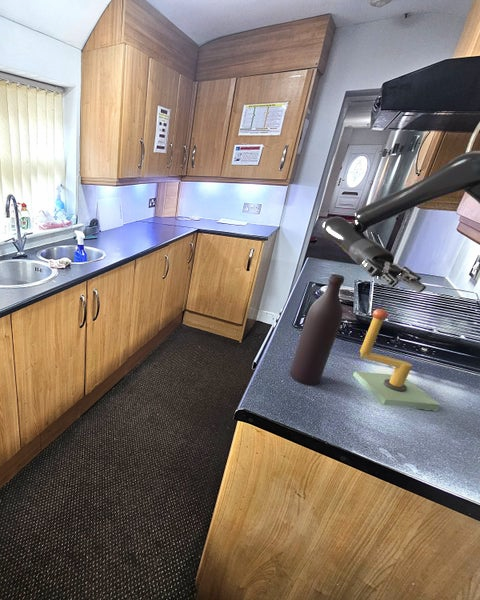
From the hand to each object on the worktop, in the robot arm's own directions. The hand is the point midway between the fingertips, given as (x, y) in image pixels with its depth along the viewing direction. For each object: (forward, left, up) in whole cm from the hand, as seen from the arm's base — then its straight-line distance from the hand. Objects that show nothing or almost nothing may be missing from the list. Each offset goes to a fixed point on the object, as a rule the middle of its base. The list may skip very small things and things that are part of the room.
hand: (408, 287), depth 89 cm
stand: (+6, +15, -24) cm, 29 cm away
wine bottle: (+26, +12, -25) cm, 37 cm away
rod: (+9, +13, -22) cm, 27 cm away
